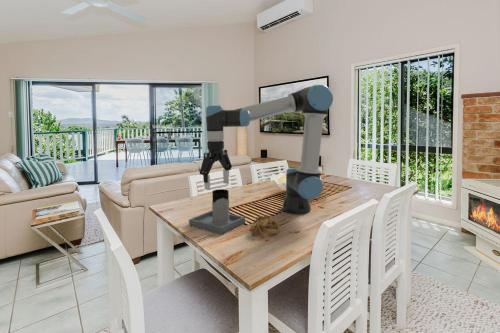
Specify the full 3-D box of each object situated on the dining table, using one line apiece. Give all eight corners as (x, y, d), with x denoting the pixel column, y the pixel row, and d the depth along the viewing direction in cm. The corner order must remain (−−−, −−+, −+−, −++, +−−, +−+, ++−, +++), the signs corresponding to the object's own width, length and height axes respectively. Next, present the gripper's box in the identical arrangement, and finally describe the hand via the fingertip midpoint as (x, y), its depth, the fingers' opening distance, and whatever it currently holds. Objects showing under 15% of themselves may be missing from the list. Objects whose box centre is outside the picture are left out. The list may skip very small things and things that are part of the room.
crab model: (276, 240, 123) (277, 227, 122) (247, 237, 126) (247, 224, 125) (281, 226, 138) (282, 215, 137) (255, 224, 141) (255, 213, 140)
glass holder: (213, 226, 135) (213, 194, 133) (208, 216, 149) (207, 187, 146) (232, 224, 138) (231, 192, 136) (225, 214, 151) (224, 185, 149)
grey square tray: (244, 223, 142) (244, 217, 142) (222, 234, 128) (222, 228, 128) (212, 215, 153) (212, 210, 153) (189, 225, 139) (188, 219, 139)
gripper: (225, 138, 146) (227, 180, 150) (189, 142, 126) (192, 191, 129) (238, 138, 142) (239, 181, 146) (203, 143, 122) (205, 193, 125)
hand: (217, 186), depth 138 cm, fingers open, 13 cm apart
